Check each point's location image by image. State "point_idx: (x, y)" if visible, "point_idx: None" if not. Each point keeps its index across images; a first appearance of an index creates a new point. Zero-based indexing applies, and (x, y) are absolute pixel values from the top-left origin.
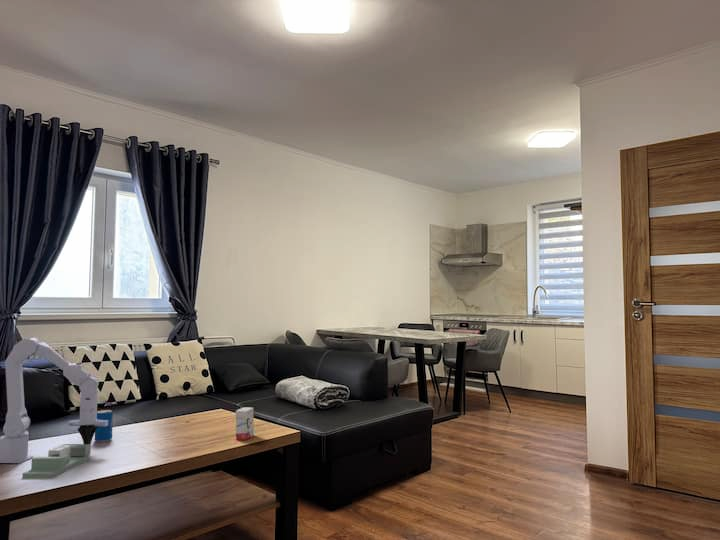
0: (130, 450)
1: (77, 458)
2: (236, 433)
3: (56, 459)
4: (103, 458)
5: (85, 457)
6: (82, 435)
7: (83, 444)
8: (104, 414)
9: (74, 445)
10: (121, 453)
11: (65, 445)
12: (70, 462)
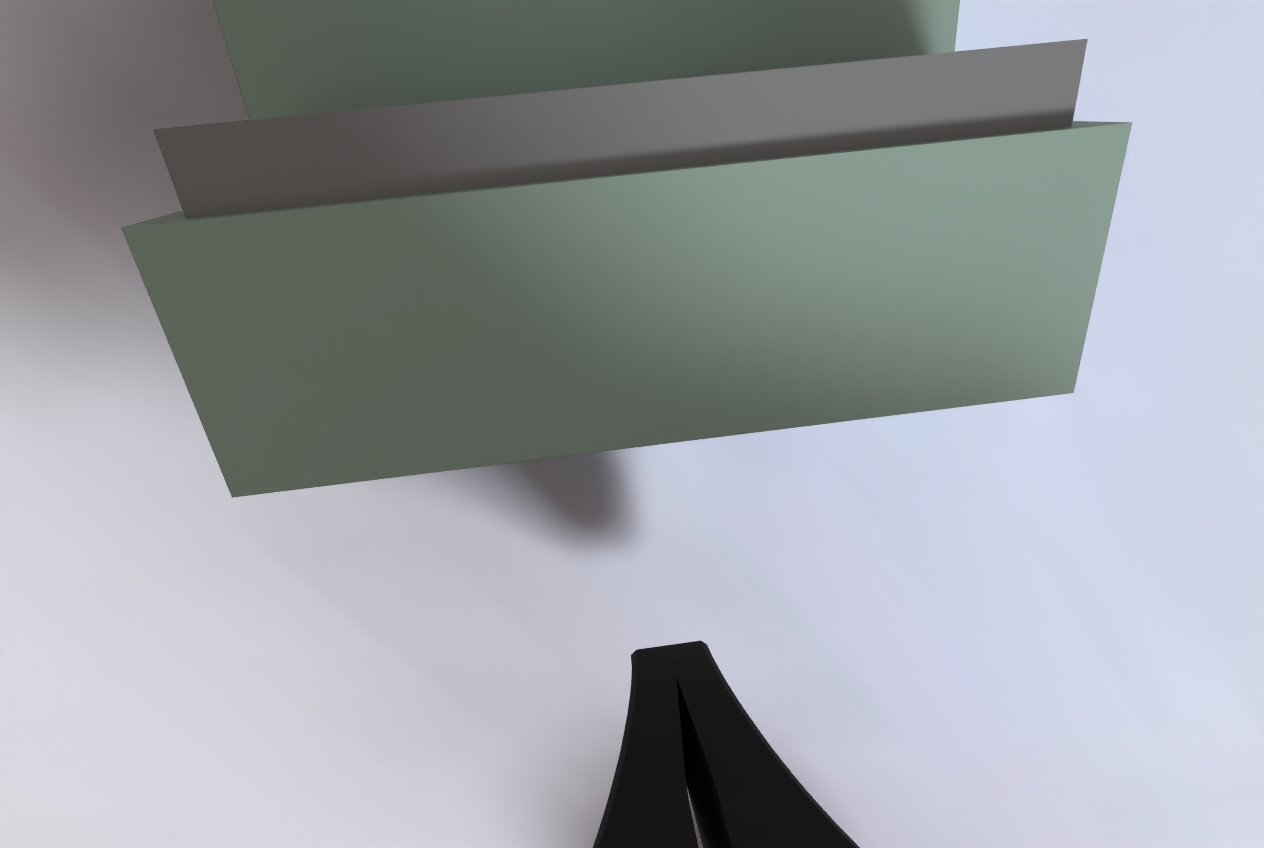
0: (67, 795)
1: (352, 12)
2: None
3: None
4: (89, 390)
5: None
6: (789, 834)
7: (442, 438)
8: None
9: (657, 300)
10: (54, 668)
11: (960, 264)
12: None
